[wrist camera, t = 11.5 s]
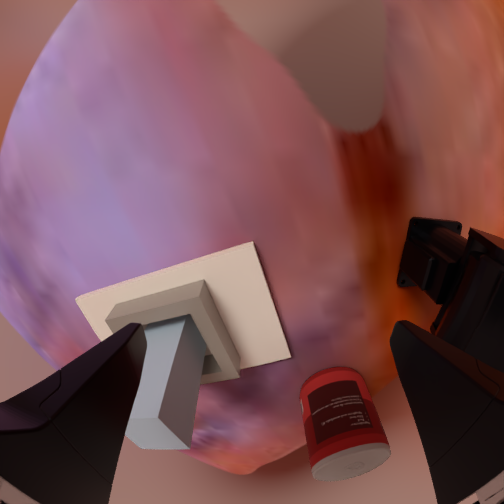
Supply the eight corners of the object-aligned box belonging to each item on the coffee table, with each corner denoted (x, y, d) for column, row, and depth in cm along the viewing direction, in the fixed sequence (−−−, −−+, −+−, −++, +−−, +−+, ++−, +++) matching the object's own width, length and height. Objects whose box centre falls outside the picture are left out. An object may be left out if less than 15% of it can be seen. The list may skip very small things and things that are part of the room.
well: (253, 241, 21) (254, 259, 18) (290, 351, 26) (294, 376, 23) (78, 295, 23) (62, 314, 20) (135, 380, 28) (127, 401, 25)
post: (188, 310, 23) (157, 417, 13) (206, 344, 24) (190, 448, 14) (149, 320, 23) (106, 418, 13) (169, 352, 25) (141, 448, 15)
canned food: (330, 411, 30) (348, 482, 20) (283, 395, 29) (293, 479, 18) (375, 376, 28) (406, 450, 18) (330, 355, 26) (359, 444, 16)
